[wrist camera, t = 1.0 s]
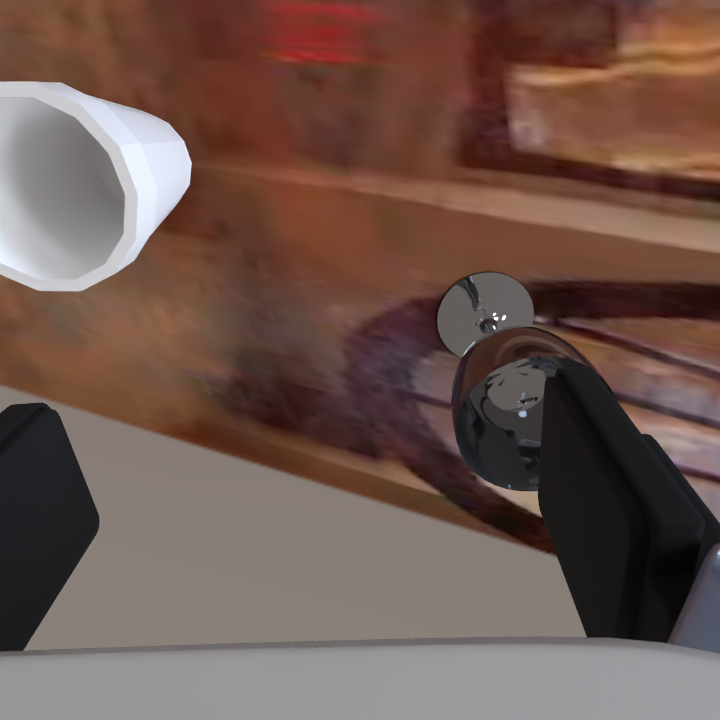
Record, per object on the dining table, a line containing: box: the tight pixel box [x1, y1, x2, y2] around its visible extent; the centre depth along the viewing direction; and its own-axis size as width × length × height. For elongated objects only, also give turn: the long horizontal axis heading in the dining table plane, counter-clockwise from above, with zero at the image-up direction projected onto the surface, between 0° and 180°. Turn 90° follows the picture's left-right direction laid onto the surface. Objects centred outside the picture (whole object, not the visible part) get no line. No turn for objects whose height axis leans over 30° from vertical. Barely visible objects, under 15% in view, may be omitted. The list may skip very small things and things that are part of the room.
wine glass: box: [437, 272, 615, 491], centre depth 34 cm, size 8×8×15 cm
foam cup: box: [0, 82, 191, 291], centre depth 31 cm, size 10×9×13 cm
